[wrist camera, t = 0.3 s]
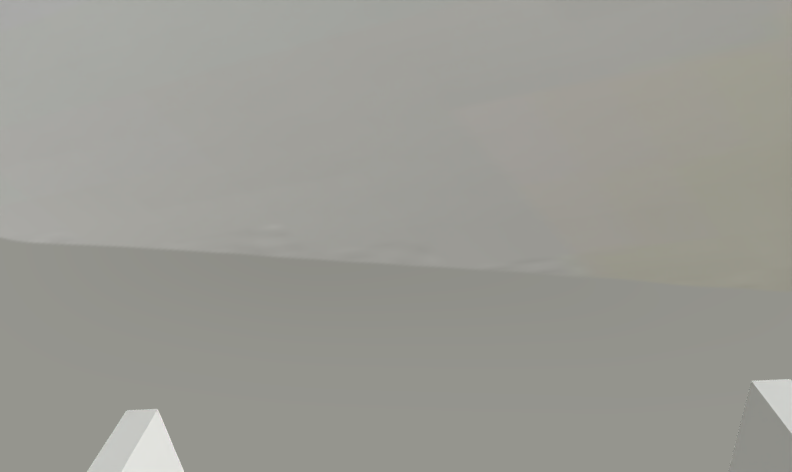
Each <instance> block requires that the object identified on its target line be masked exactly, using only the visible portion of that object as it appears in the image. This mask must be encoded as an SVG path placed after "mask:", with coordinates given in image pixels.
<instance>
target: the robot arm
mask: <svg viewBox="0 0 792 472" xmlns="http://www.w3.org/2000/svg"><path fill="white" fill-rule="evenodd" d="M87 472H184V471H183V468H182V466H181V463H180V461H179V458H178V456H177V454H176V451H175V449H174V447H173V444H172V442H171V439H170V437H169V435H168V432H167V430H166V427H165V425H164V423H163V420H162V418H161V415H160V413H159V411H158V409H146V410H127V411H126V412H125V414H124V415H123V417H122V418H121V420H120V421H119V423H118V424H117V426H116V428H115V429H114V431H113V432H112V434H111V435H110V437H109V438H108V440H107V441H106V443H105V444H104V446H103V448H102V449H101V451H100V452H99V454H98V455H97V457H96V458H95V460H94V461H93V463H92V464H91V466H90V468H89V469H88V471H87ZM729 472H792V381H791V380H790V379H783V380H762V381H751V385H750V389H749V393H748V396H747V400H746V404H745V408H744V412H743V416H742V420H741V424H740V428H739V432H738V436H737V440H736V444H735V448H734V451H733V455H732V460H731V464H730V467H729Z"/></svg>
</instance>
